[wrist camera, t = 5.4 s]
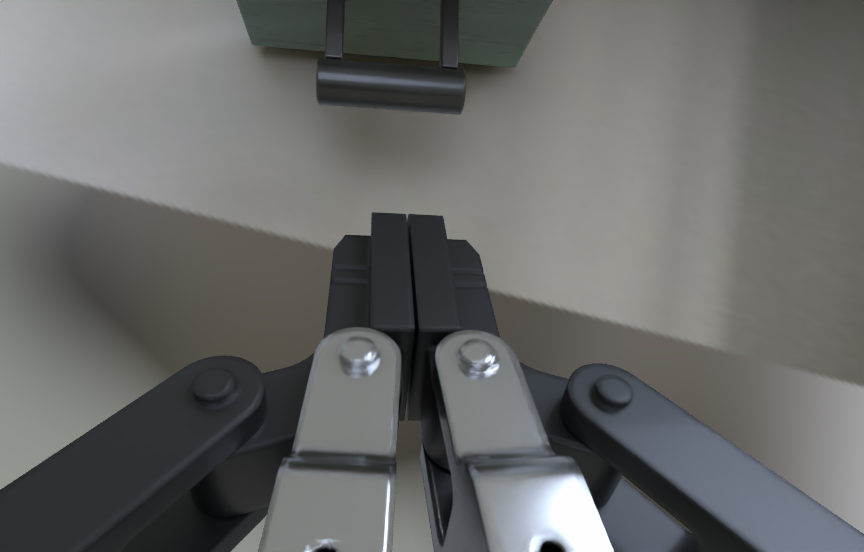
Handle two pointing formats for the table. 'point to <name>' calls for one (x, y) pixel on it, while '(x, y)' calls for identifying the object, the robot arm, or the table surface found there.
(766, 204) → the table surface
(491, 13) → the drawer
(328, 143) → the table surface
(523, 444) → the robot arm
